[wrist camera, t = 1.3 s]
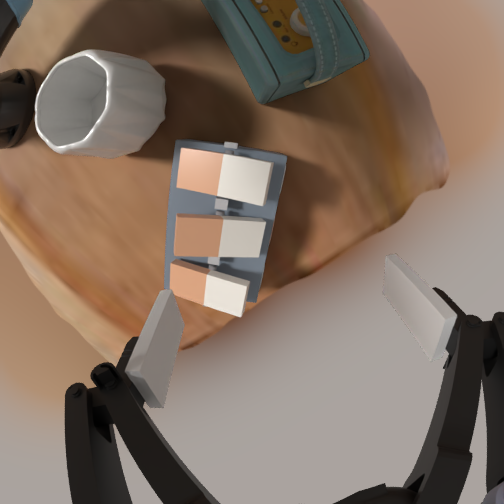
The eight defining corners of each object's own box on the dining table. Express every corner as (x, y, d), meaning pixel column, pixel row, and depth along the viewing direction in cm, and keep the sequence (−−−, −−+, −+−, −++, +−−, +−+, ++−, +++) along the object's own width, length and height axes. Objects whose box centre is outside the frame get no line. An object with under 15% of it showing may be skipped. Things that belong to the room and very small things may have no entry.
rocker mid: (173, 250, 32) (174, 258, 30) (176, 207, 30) (177, 214, 28) (252, 251, 35) (258, 260, 33) (259, 213, 33) (266, 219, 31)
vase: (195, 98, 32) (164, 77, 18) (131, 174, 36) (75, 199, 22) (129, 47, 28) (76, 15, 14) (73, 121, 32) (6, 126, 18)
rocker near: (185, 187, 31) (176, 190, 29) (191, 144, 29) (181, 144, 27) (266, 205, 30) (262, 209, 28) (276, 159, 28) (271, 159, 26)
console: (173, 271, 42) (161, 298, 35) (186, 135, 34) (172, 135, 27) (256, 284, 44) (258, 313, 37) (284, 150, 35) (294, 154, 28)
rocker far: (177, 287, 37) (169, 295, 35) (179, 253, 35) (170, 260, 33) (245, 309, 35) (240, 319, 33) (252, 275, 33) (247, 284, 31)
